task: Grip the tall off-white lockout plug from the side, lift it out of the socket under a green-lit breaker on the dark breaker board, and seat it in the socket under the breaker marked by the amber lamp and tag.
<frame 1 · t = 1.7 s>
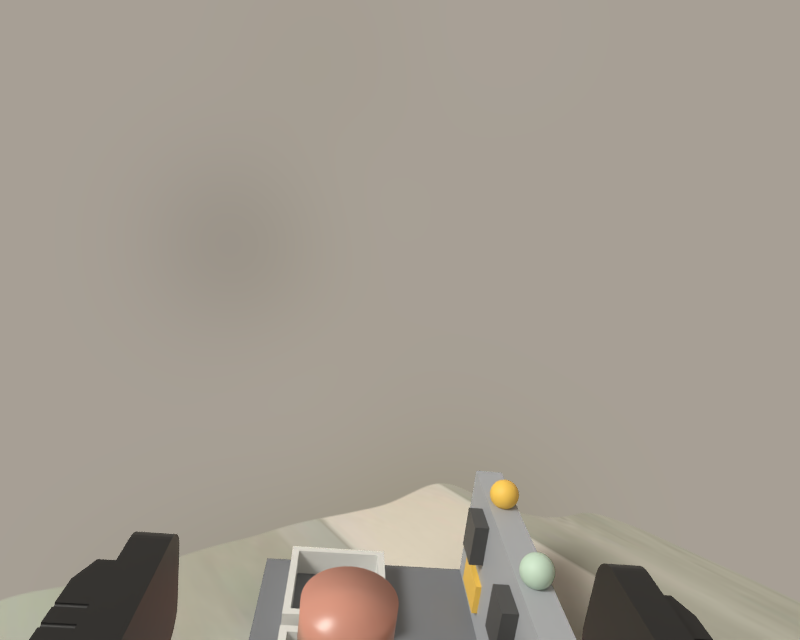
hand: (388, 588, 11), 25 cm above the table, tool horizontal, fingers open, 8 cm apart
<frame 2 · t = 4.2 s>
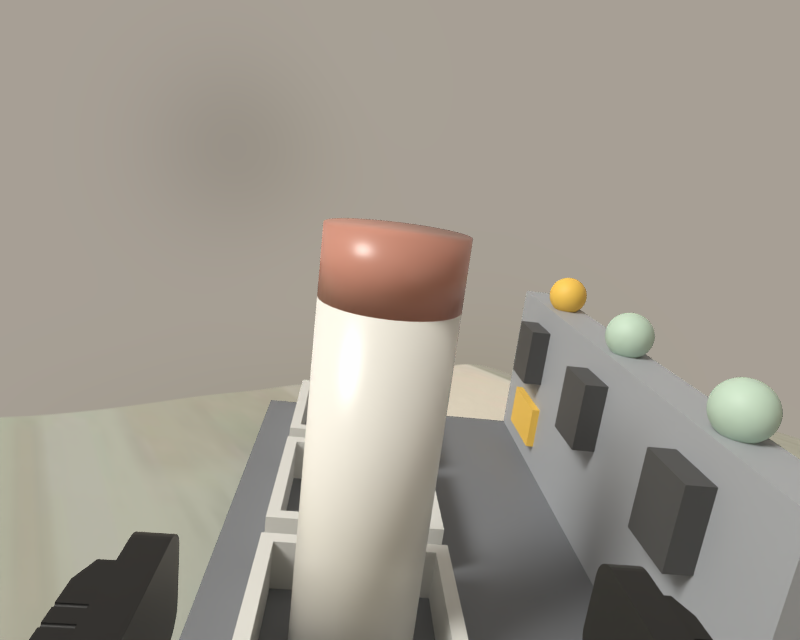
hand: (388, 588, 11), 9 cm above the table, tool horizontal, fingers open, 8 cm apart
breaker board: (424, 544, 28), on the table
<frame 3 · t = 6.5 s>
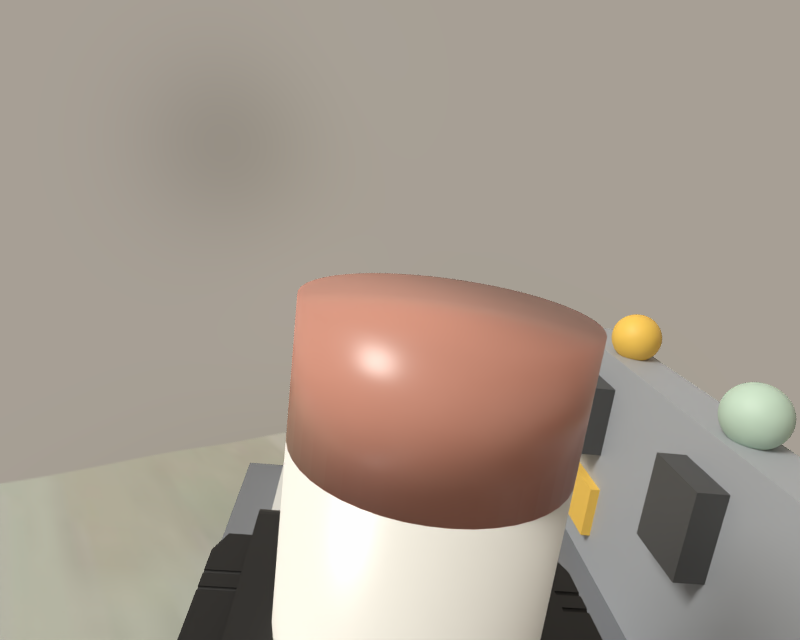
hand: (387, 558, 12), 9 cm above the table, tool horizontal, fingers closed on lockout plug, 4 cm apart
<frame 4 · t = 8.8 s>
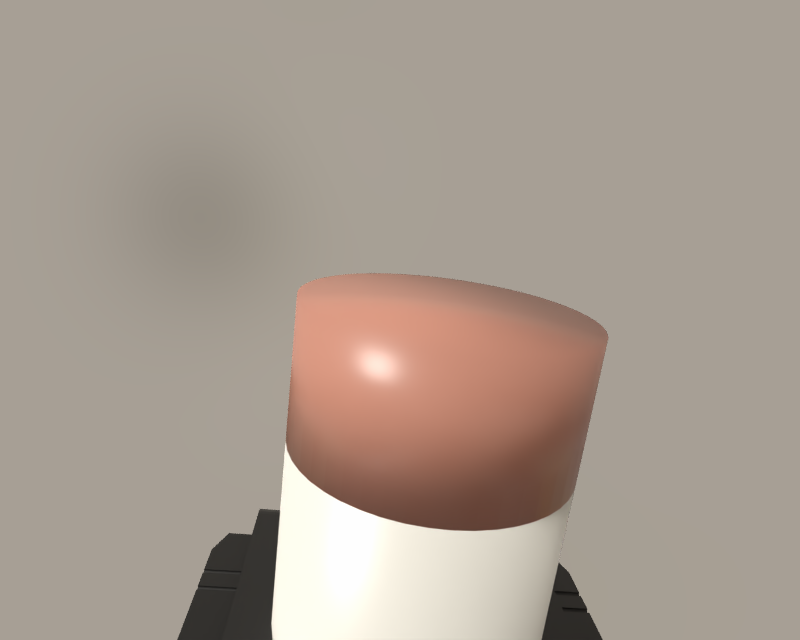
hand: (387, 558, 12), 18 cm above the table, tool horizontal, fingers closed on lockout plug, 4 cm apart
when the fingers open (12 cm above the table, at t = 11.3 s): lockout plug drops 2 cm, resting on breaker board.
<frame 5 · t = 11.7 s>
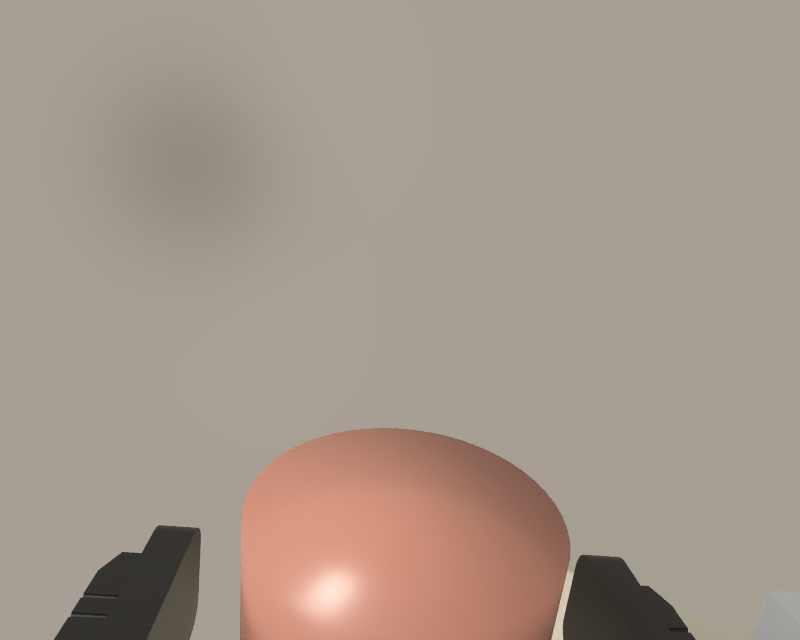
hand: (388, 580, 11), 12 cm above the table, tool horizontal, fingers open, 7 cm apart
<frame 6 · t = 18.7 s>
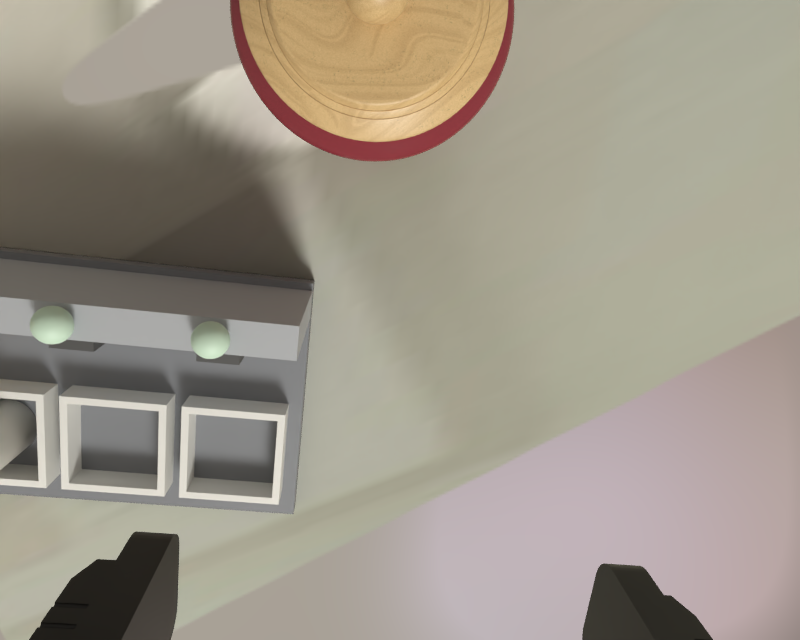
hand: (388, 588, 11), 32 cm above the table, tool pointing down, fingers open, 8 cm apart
canister: (370, 57, 39), on the table
lockout plug: (8, 424, 42), point 1 cm above the table, touching breaker board
breaker board: (130, 383, 43), on the table
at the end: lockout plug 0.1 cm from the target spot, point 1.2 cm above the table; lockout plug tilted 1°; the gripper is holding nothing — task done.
